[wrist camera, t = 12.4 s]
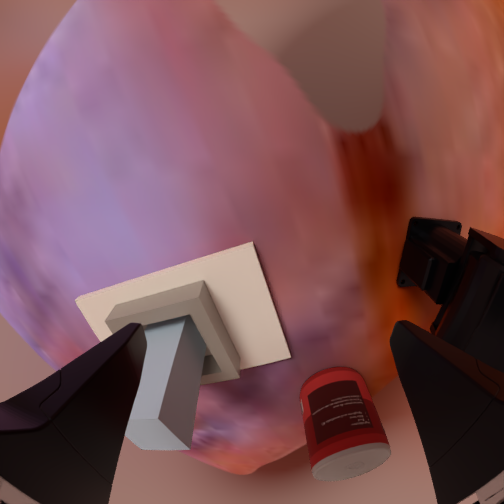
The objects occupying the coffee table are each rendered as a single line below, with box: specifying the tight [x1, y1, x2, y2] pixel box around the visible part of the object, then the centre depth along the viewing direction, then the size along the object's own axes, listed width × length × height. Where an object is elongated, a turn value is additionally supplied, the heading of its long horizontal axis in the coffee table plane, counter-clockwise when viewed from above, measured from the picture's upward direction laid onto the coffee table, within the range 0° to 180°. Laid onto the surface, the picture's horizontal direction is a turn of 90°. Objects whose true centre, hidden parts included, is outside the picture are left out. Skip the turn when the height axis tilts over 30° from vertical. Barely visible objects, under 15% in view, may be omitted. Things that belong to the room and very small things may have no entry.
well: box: [75, 242, 291, 385], centre depth 23 cm, size 18×12×3 cm, turn 108°
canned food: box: [300, 367, 391, 481], centre depth 23 cm, size 8×8×11 cm
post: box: [125, 314, 206, 450], centre depth 19 cm, size 4×4×11 cm
